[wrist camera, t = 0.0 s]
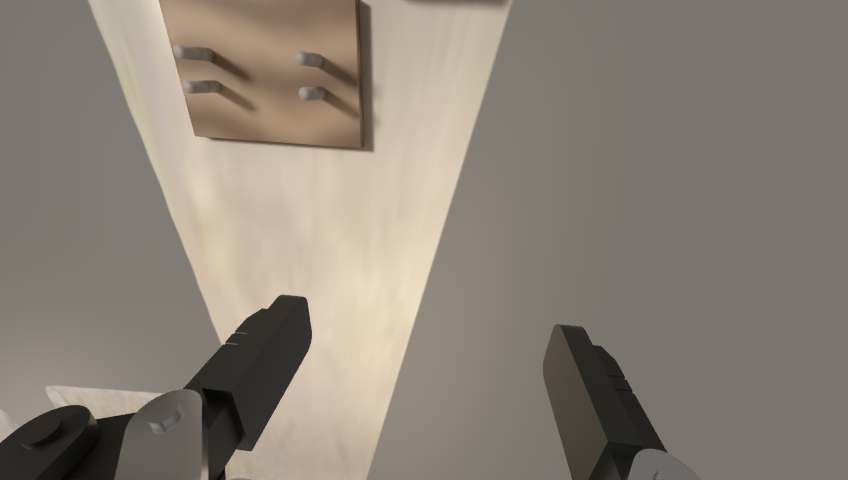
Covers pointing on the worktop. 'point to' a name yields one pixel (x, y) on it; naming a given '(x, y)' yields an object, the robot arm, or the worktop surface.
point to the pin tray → (270, 69)
